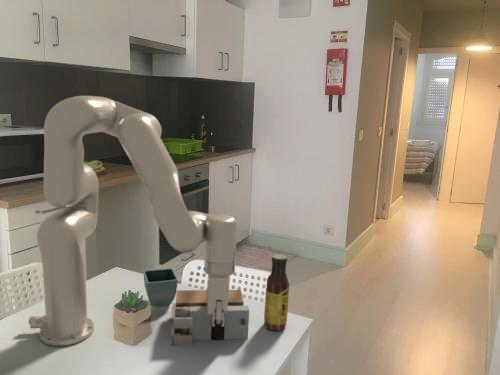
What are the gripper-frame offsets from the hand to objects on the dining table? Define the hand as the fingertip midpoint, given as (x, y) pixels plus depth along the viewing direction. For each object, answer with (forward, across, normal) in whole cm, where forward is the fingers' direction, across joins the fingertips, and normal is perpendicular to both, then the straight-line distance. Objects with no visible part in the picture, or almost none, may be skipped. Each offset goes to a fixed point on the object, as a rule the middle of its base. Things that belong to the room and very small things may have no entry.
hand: (217, 330), depth 105 cm
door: (+3, -1, -1) cm, 3 cm away
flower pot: (+3, -20, -16) cm, 26 cm away
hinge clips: (+3, -2, -9) cm, 9 cm away
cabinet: (+3, -10, -2) cm, 11 cm away
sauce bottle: (+3, -7, +16) cm, 18 cm away
